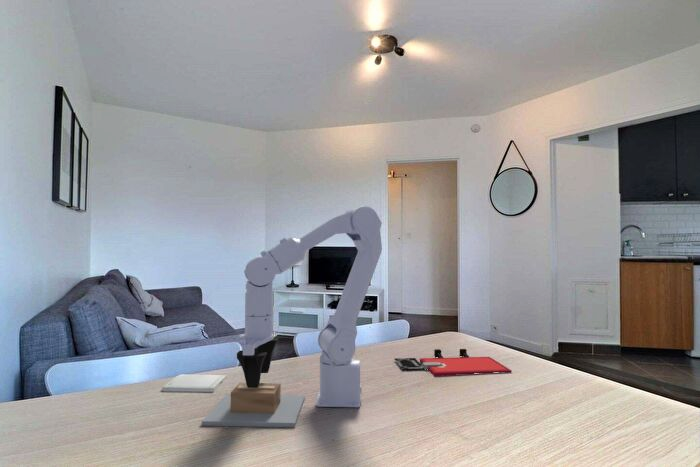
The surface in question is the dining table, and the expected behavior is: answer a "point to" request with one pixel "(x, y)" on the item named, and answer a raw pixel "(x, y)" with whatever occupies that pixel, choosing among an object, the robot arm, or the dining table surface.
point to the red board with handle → (453, 364)
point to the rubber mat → (256, 414)
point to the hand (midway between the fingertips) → (258, 379)
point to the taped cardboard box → (255, 398)
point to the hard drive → (195, 383)
